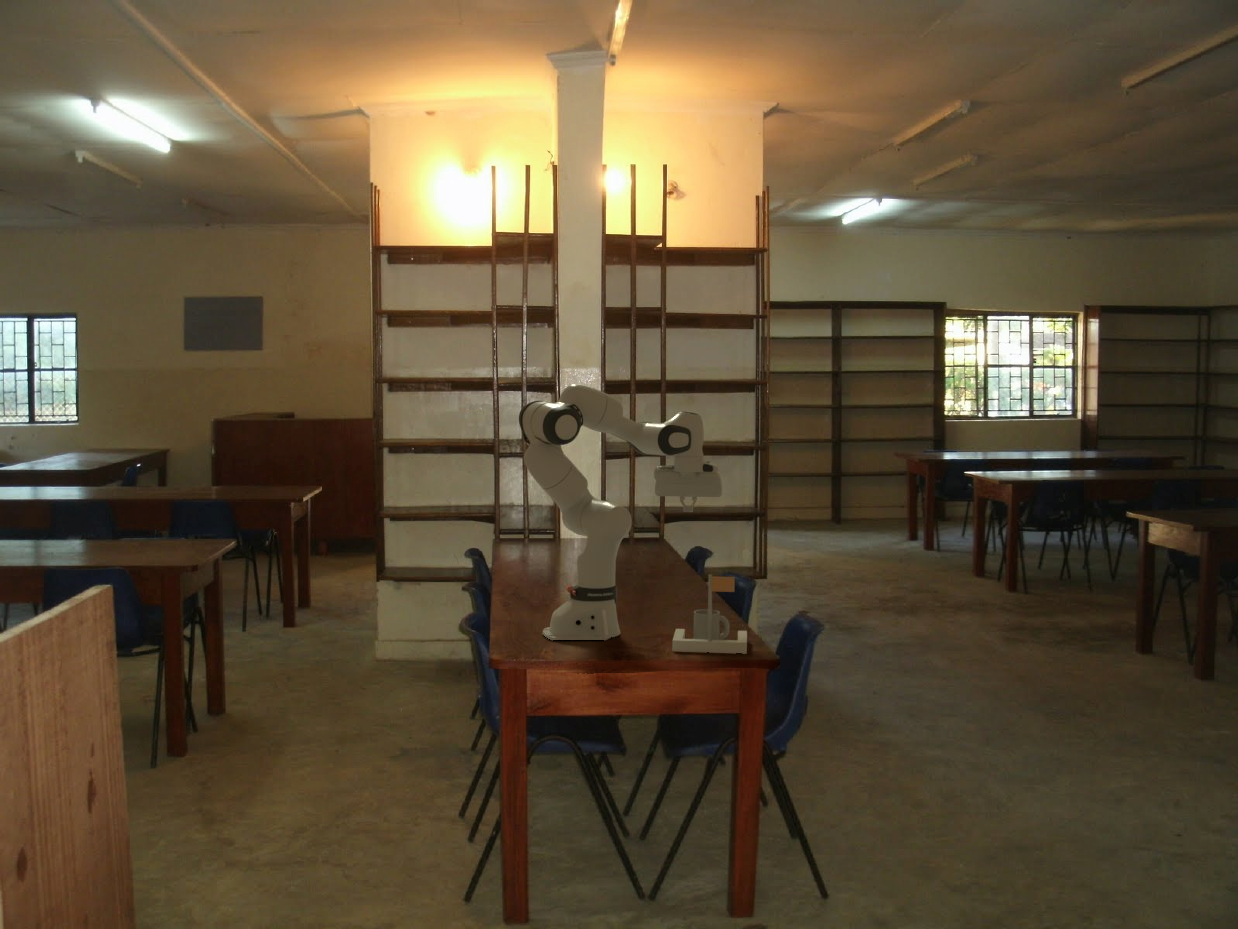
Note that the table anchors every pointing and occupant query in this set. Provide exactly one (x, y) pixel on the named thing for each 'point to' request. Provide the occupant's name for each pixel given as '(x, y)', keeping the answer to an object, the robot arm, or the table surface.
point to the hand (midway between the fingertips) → (688, 511)
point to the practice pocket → (708, 644)
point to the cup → (702, 625)
